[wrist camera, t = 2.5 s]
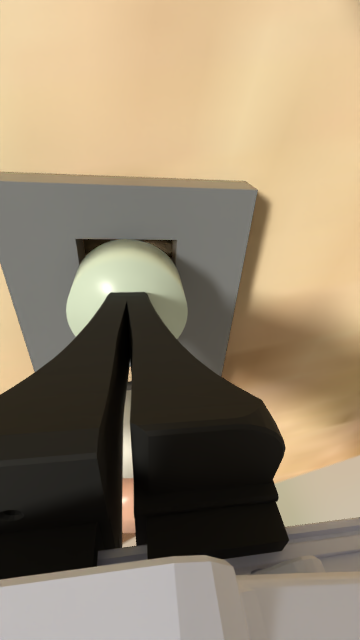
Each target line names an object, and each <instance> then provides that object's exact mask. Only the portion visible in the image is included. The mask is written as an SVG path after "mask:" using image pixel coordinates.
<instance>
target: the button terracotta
mask: <svg viewBox="0 0 360 640" xmlns="http://www.w3.org/2000/svg"><path fill="white" fill-rule="evenodd" d="M122 533H136V532H135V519H134V480H133V478H123V488H122Z"/></svg>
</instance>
